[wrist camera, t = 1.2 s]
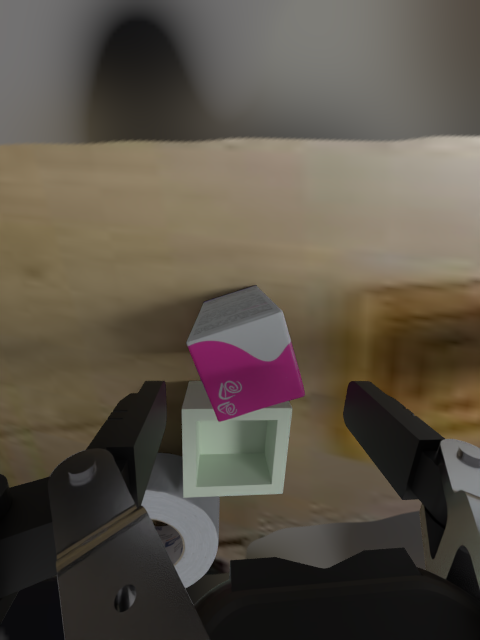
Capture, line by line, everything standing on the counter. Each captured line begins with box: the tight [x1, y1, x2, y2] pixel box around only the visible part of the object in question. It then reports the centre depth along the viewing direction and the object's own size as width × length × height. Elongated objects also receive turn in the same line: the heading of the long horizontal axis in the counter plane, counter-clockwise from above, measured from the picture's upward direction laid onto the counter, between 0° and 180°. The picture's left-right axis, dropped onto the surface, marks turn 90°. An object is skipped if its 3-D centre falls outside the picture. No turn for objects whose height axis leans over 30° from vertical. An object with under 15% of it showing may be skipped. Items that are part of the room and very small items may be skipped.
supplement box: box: [186, 285, 305, 422], centre depth 19 cm, size 6×6×12 cm
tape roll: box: [141, 453, 219, 588], centre depth 27 cm, size 15×15×5 cm
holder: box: [182, 381, 292, 498], centre depth 25 cm, size 10×10×5 cm
